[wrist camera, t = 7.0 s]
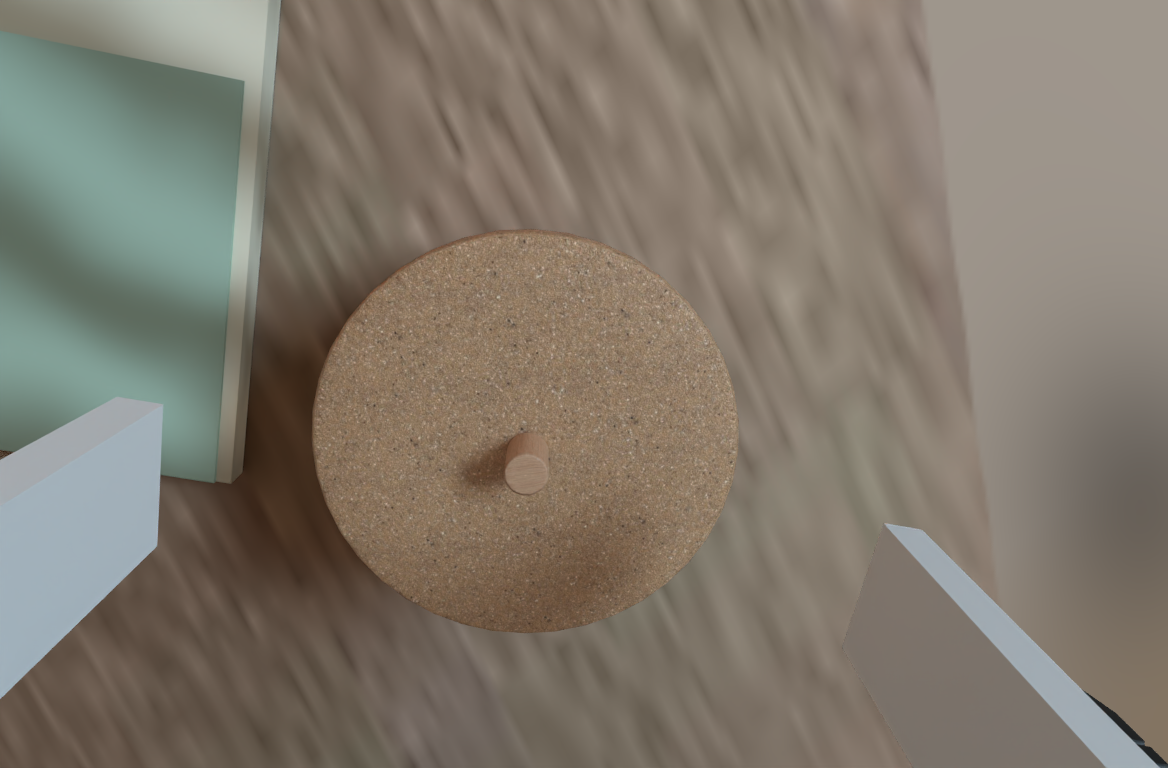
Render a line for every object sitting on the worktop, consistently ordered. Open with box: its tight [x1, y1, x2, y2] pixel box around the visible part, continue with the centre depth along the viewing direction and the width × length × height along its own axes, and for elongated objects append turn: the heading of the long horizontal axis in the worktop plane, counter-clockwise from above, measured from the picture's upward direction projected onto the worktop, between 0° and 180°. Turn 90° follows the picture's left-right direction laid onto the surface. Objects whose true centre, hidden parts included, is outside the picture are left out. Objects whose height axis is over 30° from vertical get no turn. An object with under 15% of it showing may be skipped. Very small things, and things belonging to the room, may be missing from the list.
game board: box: [0, 0, 281, 484], centre depth 21 cm, size 25×13×4 cm, turn 169°
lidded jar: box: [312, 229, 739, 633], centre depth 22 cm, size 11×11×9 cm
